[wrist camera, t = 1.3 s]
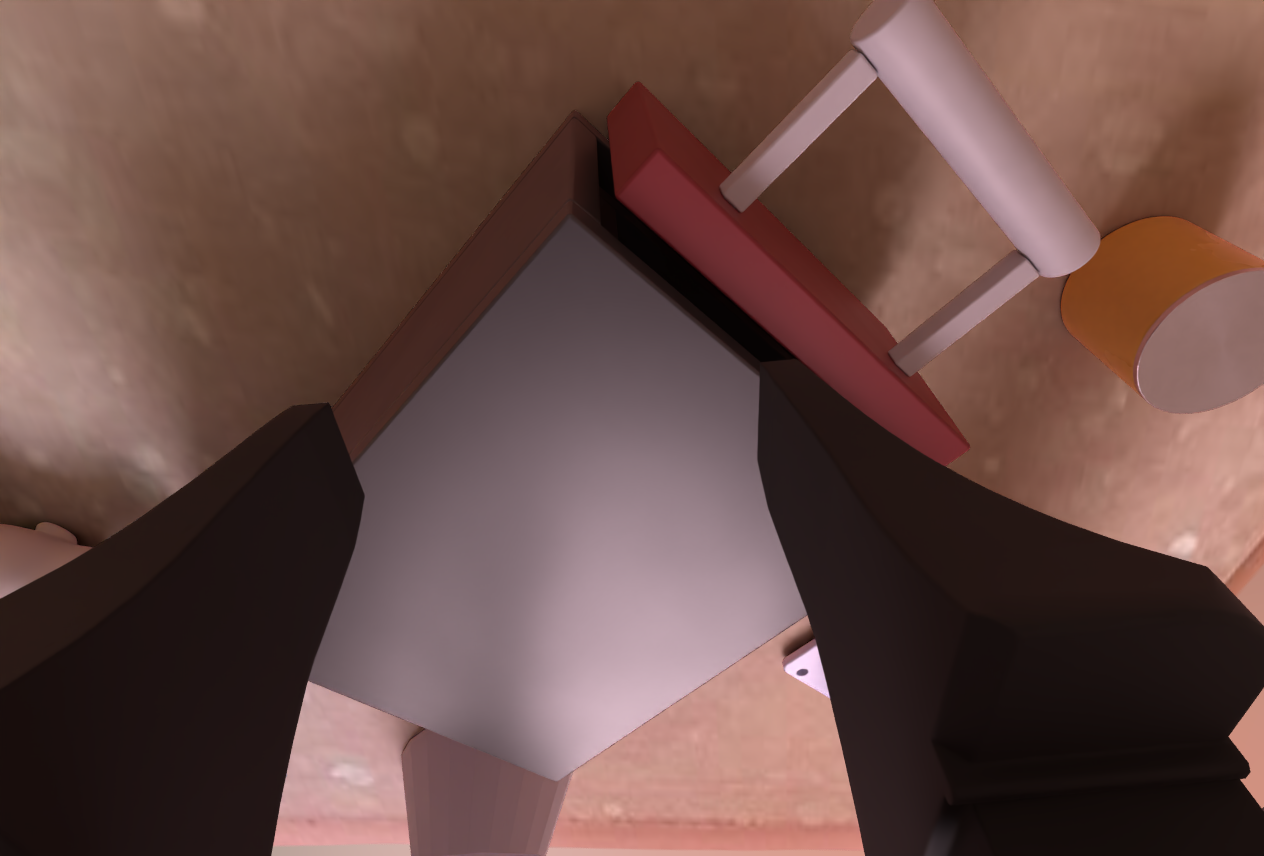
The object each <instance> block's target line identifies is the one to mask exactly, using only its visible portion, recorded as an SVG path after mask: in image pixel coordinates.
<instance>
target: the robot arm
mask: <svg viewBox="0 0 1264 856" xmlns="http://www.w3.org/2000/svg"><path fill="white" fill-rule="evenodd" d="M757 461H758V466H759V471H760V475H761V480H762V485H763V489H764V493H765V498H766V502H767V506H768V510H769V513H770V515H771V518H772V521H773V524H774V526H775V529H776V532H777V535H778V537H779V540H780V543H781V546H782V548H783V551H784V554H785V556H786V559H787V562H788V564H789V567H790V570H791V572H792V575H793V578H794V580H795V583H796V586H797V588H798V591H799V594H800V596H801V599H802V602H803V604H804V607H805V610H806V612H807V615H808V618H809V621H810V625H811V628H812V631H813V634H814V637H815V639H813V640H812V641H810V642H808V643H807V644H805V645H804V646H802V647H801V648H799V649H798V650H796V651H795V652H793V653H791V654H790V655H788V656H787V657H786V658H785V659H784V660H783V662H782V663H783V667H784V671H785V672H786V673H788V674H790V675H791V676H793V677H795V678H796V679H798V680H800V681H802V682H803V683H805V684H807V685H808V686H810V687H812V688H813V689H815V690H817V691H818V692H820V693H822V694H823V695H825V696H827V697H829V698H830V700H831V704H832V708H833V712H834V717H835V721H836V725H837V729H838V733H839V738H840V742H841V746H842V750H843V755H844V759H845V764H846V768H847V773H848V777H849V782H850V786H851V791H852V796H853V800H854V805H855V809H856V814H857V818H858V823H859V828H860V833H861V838H862V843H863V848H864V852H865V856H1264V807H1263V808H1261V807H1260V806H1259V804H1258V803H1257V802H1256V800H1255V799H1254V798H1253V796H1252V795H1251V794H1250V792H1249V791H1248V790H1247V788H1246V787H1245V786H1244V784H1243V783H1242V782H1241V780H1240V779H1243V778H1246V777H1247V776H1248V775H1249V773H1250V767H1249V763H1248V762H1247V760H1246V759H1245V758H1244V756H1243V755H1242V754H1241V753H1240V751H1239V750H1238V749H1237V747H1236V746H1235V745H1234V744H1233V742H1232V741H1231V740H1230V738H1229V737H1228V736H1229V735H1230V733H1231V732H1232V731H1233V729H1234V728H1235V726H1236V725H1237V724H1238V722H1239V721H1240V720H1241V718H1242V717H1243V716H1244V714H1245V713H1246V711H1247V710H1248V709H1249V707H1250V706H1251V704H1252V703H1253V702H1254V700H1255V699H1256V698H1257V696H1258V695H1259V693H1260V692H1261V691H1262V689H1263V688H1264V626H1263V625H1262V624H1261V623H1260V622H1259V621H1258V619H1257V618H1256V617H1255V616H1254V615H1253V614H1252V613H1251V612H1250V611H1249V610H1248V609H1247V608H1246V607H1245V606H1244V605H1243V604H1242V603H1241V601H1240V600H1239V599H1238V598H1237V597H1236V596H1235V595H1234V594H1233V593H1232V592H1231V591H1230V590H1229V589H1228V588H1227V587H1226V585H1225V584H1224V583H1223V582H1222V581H1221V580H1220V579H1219V578H1218V577H1217V576H1216V575H1215V574H1214V573H1213V572H1212V571H1211V570H1210V569H1209V568H1208V567H1206V566H1203V565H1199V564H1196V563H1192V562H1189V561H1185V560H1182V559H1178V558H1175V557H1172V556H1168V555H1165V554H1161V553H1158V552H1154V551H1151V550H1147V549H1144V548H1141V547H1137V546H1134V545H1130V544H1127V543H1123V542H1120V541H1117V540H1114V539H1111V538H1108V537H1105V536H1103V535H1100V534H1097V533H1094V532H1091V531H1089V530H1086V529H1083V528H1080V527H1077V526H1075V525H1072V524H1069V523H1066V522H1063V521H1061V520H1058V519H1056V518H1053V517H1051V516H1048V515H1046V514H1043V513H1041V512H1038V511H1036V510H1033V509H1031V508H1029V507H1027V506H1024V505H1022V504H1020V503H1018V502H1015V501H1013V500H1011V499H1009V498H1006V497H1004V496H1002V495H1000V494H998V493H995V492H993V491H991V490H989V489H987V488H985V487H983V486H981V485H979V484H977V483H975V482H973V481H971V480H969V479H967V478H965V477H963V476H962V475H960V474H958V473H956V472H954V471H953V470H951V469H949V468H947V467H945V466H943V465H942V464H940V463H938V462H936V461H934V460H933V459H931V458H929V457H928V456H926V455H924V454H923V453H921V452H920V451H918V450H916V449H915V448H913V447H912V446H910V445H909V444H907V443H906V442H904V441H903V440H901V439H900V438H898V437H897V436H895V435H894V434H892V433H891V432H889V431H888V430H886V429H885V428H884V427H882V426H881V425H879V424H878V423H877V422H875V421H874V420H872V419H871V418H870V417H868V416H867V415H866V414H864V413H863V412H862V411H860V410H859V409H858V408H857V407H855V406H854V405H853V404H851V403H850V402H849V401H848V400H846V399H845V398H844V397H843V396H841V395H840V394H839V393H838V392H836V391H835V390H834V389H833V388H832V387H830V386H829V385H828V384H827V383H825V382H824V381H823V380H822V379H821V378H819V377H818V376H817V375H816V374H815V373H813V372H812V371H811V370H810V369H809V368H807V367H806V366H805V365H804V364H803V363H801V362H800V361H799V360H797V359H792V360H781V361H770V362H760V383H759V414H758V445H757ZM364 499H365V494H364V492H363V489H362V486H361V484H360V481H359V479H358V476H357V474H356V471H355V468H354V466H353V463H352V461H351V458H350V455H349V453H348V450H347V448H346V445H345V443H344V440H343V437H342V435H341V432H340V430H339V427H338V424H337V422H336V419H335V417H334V414H333V412H332V409H331V406H330V404H329V403H318V404H308V405H297V406H292V407H290V408H289V409H287V410H285V411H284V412H282V413H281V414H279V415H278V416H276V417H275V418H274V419H272V420H271V421H269V422H268V423H267V424H265V425H264V426H263V427H261V428H260V429H259V430H257V431H256V432H255V433H254V434H252V435H251V436H250V437H248V438H247V439H246V440H244V441H243V442H242V443H241V444H239V445H238V446H237V447H235V448H234V449H233V450H232V451H230V452H229V453H228V454H226V455H225V456H224V457H222V458H221V459H220V460H219V461H217V462H216V463H215V464H213V465H212V466H211V467H209V468H208V469H207V470H206V471H204V472H203V473H202V474H200V475H199V476H198V477H196V478H195V479H194V480H192V481H191V482H190V483H188V484H187V485H185V486H184V487H183V488H181V489H180V490H178V491H177V492H176V493H174V494H173V495H171V496H170V497H169V498H167V499H166V500H164V501H163V502H162V503H160V504H159V505H157V506H156V507H155V508H153V509H152V510H150V511H149V512H148V513H146V514H145V515H143V516H142V517H140V518H139V519H137V520H136V521H134V522H133V523H131V524H130V525H128V526H127V527H125V528H124V529H122V530H121V531H119V532H118V533H116V534H114V535H113V536H111V537H110V538H108V539H106V540H105V541H103V542H101V543H100V544H98V545H96V546H95V547H93V548H92V549H90V550H88V551H87V552H85V553H83V554H82V555H80V556H78V557H77V558H75V559H73V560H71V561H70V562H68V563H66V564H64V565H63V566H61V567H59V568H57V569H55V570H53V571H52V572H50V573H48V574H46V575H44V576H42V577H40V578H38V579H36V580H34V581H33V582H31V583H29V584H27V585H25V586H23V587H21V588H19V589H17V590H16V591H14V592H12V593H10V594H8V595H6V596H4V597H2V598H0V856H271V853H272V848H273V842H274V836H275V831H276V825H277V819H278V814H279V808H280V802H281V797H282V792H283V788H284V783H285V778H286V773H287V768H288V764H289V759H290V754H291V749H292V744H293V740H294V736H295V732H296V727H297V723H298V719H299V715H300V711H301V706H302V702H303V698H304V694H305V690H306V686H307V683H308V679H309V676H310V673H311V670H312V667H313V663H314V660H315V657H316V655H317V652H318V649H319V647H320V644H321V641H322V638H323V636H324V633H325V630H326V627H327V625H328V622H329V619H330V616H331V614H332V611H333V608H334V605H335V603H336V600H337V597H338V594H339V592H340V589H341V586H342V583H343V580H344V578H345V575H346V572H347V569H348V566H349V563H350V561H351V558H352V555H353V552H354V549H355V545H356V541H357V536H358V531H359V526H360V521H361V516H362V510H363V504H364ZM447 856H540V855H537V854H516V853H485V852H480V853H469V854H458V855H447Z"/></svg>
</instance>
